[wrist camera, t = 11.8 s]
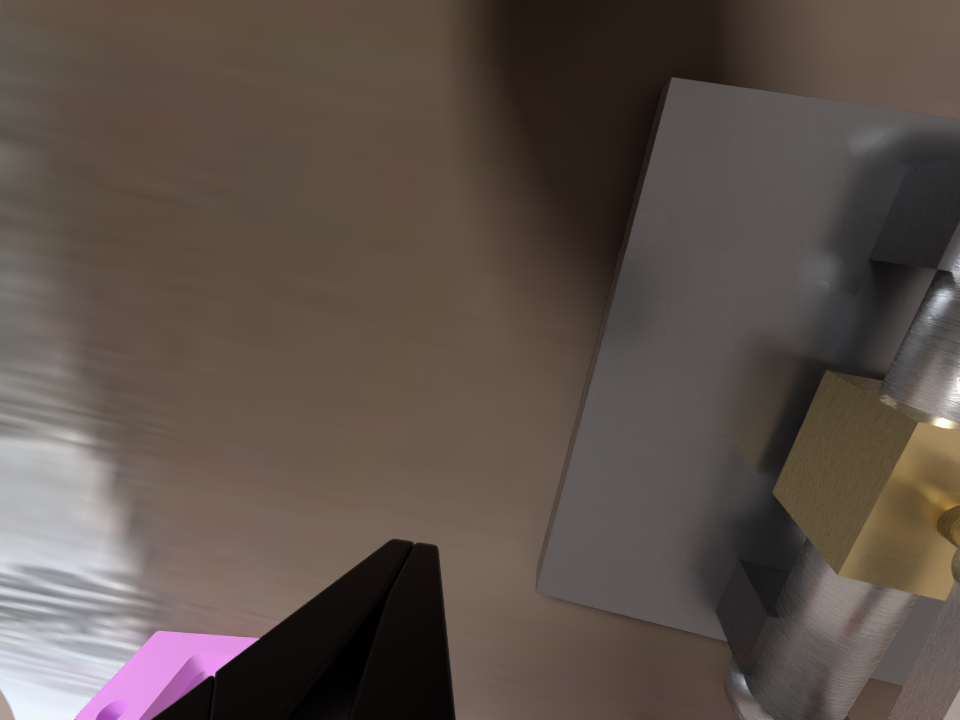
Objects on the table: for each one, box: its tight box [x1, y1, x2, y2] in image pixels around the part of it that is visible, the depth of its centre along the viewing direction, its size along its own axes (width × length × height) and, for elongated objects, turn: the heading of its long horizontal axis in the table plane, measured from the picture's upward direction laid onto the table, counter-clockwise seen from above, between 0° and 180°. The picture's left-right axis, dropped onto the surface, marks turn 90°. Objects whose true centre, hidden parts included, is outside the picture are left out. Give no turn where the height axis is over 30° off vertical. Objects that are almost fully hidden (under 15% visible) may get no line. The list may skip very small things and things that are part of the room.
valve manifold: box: [536, 77, 960, 720], centre depth 15 cm, size 22×20×8 cm
